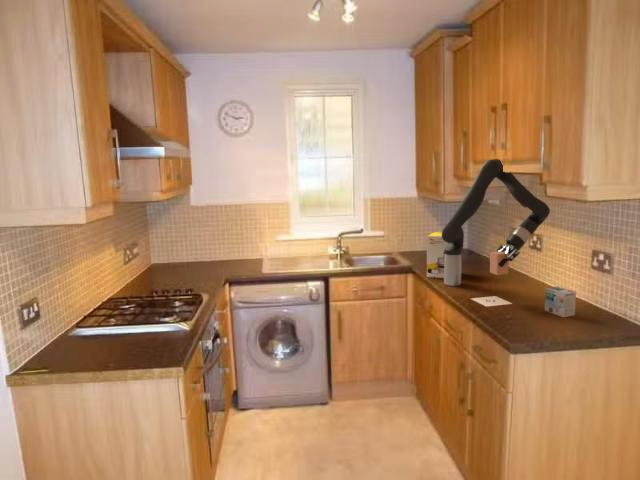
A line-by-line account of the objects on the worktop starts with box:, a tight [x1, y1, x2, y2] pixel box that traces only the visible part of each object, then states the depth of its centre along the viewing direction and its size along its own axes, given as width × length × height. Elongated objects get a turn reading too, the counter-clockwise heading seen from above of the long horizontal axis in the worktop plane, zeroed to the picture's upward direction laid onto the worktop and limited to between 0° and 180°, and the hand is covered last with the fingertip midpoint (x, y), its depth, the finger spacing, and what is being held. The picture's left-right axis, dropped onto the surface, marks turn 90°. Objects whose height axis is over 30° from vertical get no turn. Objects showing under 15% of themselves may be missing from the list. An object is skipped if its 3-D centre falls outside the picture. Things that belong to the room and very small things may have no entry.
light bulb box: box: [544, 285, 577, 318], centre depth 206 cm, size 11×7×11 cm, turn 21°
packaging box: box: [426, 231, 448, 279], centre depth 282 cm, size 16×16×25 cm
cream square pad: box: [470, 295, 513, 307], centre depth 226 cm, size 14×14×1 cm
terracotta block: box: [489, 251, 510, 276], centre depth 223 cm, size 6×6×10 cm
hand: (496, 264), depth 223 cm, fingers closed on terracotta block, 6 cm apart
